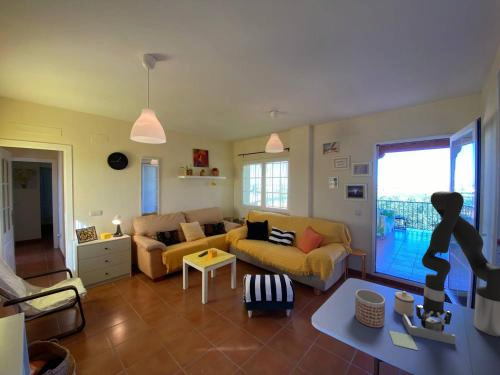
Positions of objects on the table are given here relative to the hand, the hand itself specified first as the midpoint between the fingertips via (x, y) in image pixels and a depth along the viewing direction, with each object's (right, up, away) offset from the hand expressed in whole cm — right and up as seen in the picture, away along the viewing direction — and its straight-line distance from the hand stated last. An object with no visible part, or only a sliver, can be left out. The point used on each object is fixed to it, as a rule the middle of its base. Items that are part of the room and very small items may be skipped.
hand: (432, 328), depth 104 cm
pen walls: (-4, -1, -1) cm, 4 cm away
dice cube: (-1, -1, -1) cm, 1 cm away
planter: (-27, -1, +8) cm, 28 cm away
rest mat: (-19, -1, -6) cm, 21 cm away
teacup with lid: (-4, 0, +15) cm, 16 cm away
